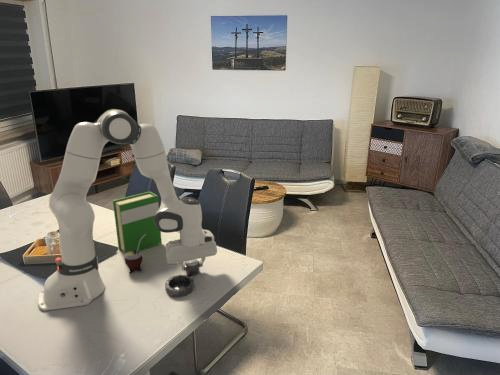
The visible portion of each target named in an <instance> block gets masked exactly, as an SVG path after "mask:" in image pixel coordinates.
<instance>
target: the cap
mask: <svg viewBox="0 0 500 375" xmlns="http://www.w3.org/2000/svg"><path fill="white" fill-rule="evenodd" d="M199 262H200V261H199V259H194V260H189V261H185V264H184V265H186V270H185V273H186V275H187V276H196V275H198V274H199V273H200V267H199Z"/></svg>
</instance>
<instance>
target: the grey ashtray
mask: <svg viewBox="0 0 500 375" xmlns="http://www.w3.org/2000/svg"><path fill="white" fill-rule="evenodd" d="M194 288H195V280H194V279H193V277H191V276H190V275H187V274H186V275H185V274H178V275H174V276H171V277H170V278H167V279H166V281H165V283H164V290H165V293H166V295H168V296H170V297H173V298H182V297H186V296H188V295H190V294H191V293H192V292H194Z"/></svg>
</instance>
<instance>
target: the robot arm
mask: <svg viewBox="0 0 500 375" xmlns="http://www.w3.org/2000/svg"><path fill="white" fill-rule="evenodd" d="M108 142H110V143H114V144H116V145H117V144H118V145H129V146H130V148H131V150H132V154H133V157H134V158H133V159H135V164H136V166H137V169H138V171H139V173H140V174H141V175H142V176H144V177H146V178H148V179H153V181H154V183H155V184H156V187H157V190H158V192H159V197H160V199H161V200H160V205H159V210H158V211H157V213H156V215H155V217H154V225H155V227H156V228H157V229H158V230H159V231H161V232H162V233H164V234H165V233H166V234H167V233H168V234H169V233H175V232H177V233H178V232H179V239H174V240H170V241H168V242H166V243H165V248H164V249H165V252H166V253H165V256H166V257H165V259H166V262H167V264H168V265H173V264H178V263H179V265H180V266H181V269H182V271H183V272H184V271H185V272H186V265H185V264H184V262H186V261H189V260H194V259H196V260H199V259H200V261H199V268H202V267H204V262H205V261H206V258H207V257H208V258H210V257H213V256H216V255H217V253H218V248H217V243H216V241H215V235H214V234H213V233H212V232H211V231H210V230H208V229H203V227H202V223H203V212H202V207H201V203H200V201H199V200H197V199H196V198H194V197H189V196H185V197H182V198H180V196H179V195H178V193H177V191H176V187H175V185H174V182H173V179H172V176H171V173H170V169H169V163H168V158H167V154H166V151H165V147H164V143H163V141H162V138H161V135H160V134H159V131H158V129H157V128H156V126H154V125H153V124H151V123H140V124H138V122H137V121H136V120H134V118H133V117H132V116H130V114H128V113H127V112H126V111H124V110H122V109H119V108H118V109H116V108H110V109H108V110H106V111H104V112H103V113H101V114H100V115H99V117H98V118H97V119H96V120H95V121H93V122H89V121H83V122H78V123H77V124H75V125H74V127H73V129H72V131H71V133H70V136H69V138H68V141H67V144H66V148H65V153H64V158H63V161H62V167H61V170H60V173H59V176H58V179H57V181H56V183H55V186H54V188H53V191H52V192H51V193H50V195H49V199H48V205H49V210H50V212H52V214H53V216H54V217H55V219H56V221H57V223H58V231H59V232H58V233H59V234H58V235H59V239H58V245H59V250H60V256H61V257H60V256H59V257H56V258H55V264H56V271H55V272H53V273H52V274H51V275H50V276H48V277H47V278H46V280H45V282H44V284H43V289H42V290H41V291H40V292H39V295H38V298H37V306H38V308H39V309H40V310H41V311H44V312H45V311H52V310H61V309H66V308H67V309H68V308H77V307H83V306H87V305H89V304H90V303H91V302H92V301H93V300H94V299H96V298H98V297H99V296H100V295H101V294H102V293H104V291H105V288H106V286H105V283H104V282H103V280H102V278H101V274H100V271H99V260H98V256H97V255H98V254H97V253H96V248H95V244H94V233H93V232H94V229H93V228H94V222H95V218H96V216H95V211H94V209H93V206H92V205H91V203H90V202H89V201H87V193H88V192H89V190H90V188H91V186H92V184H93V183H94V182H95V181H96V178H97V174H98V170H99V166H100V162H101V158H102V153H103V149H104V147H105V145H106V144H107V143H108Z"/></svg>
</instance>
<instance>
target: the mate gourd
mask: <svg viewBox="0 0 500 375" xmlns="http://www.w3.org/2000/svg"><path fill="white" fill-rule="evenodd" d="M145 235H146V234H145ZM145 235H144V236H145ZM144 236H143V237H144ZM143 237H142V238H143ZM142 238H141V239H140V240H139V244H138V248H137V250H136V249H133V250H129V251H128V252H127V253H126V254H125V253H124V263H125V266H126V267H127V268H128V269H129V270H128V271H129V274H132V273H133V272H134V271H137V272H142V264H143V254H142V252H141V251H139V250H138V249H139V245H140V243H141V240H142Z"/></svg>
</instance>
